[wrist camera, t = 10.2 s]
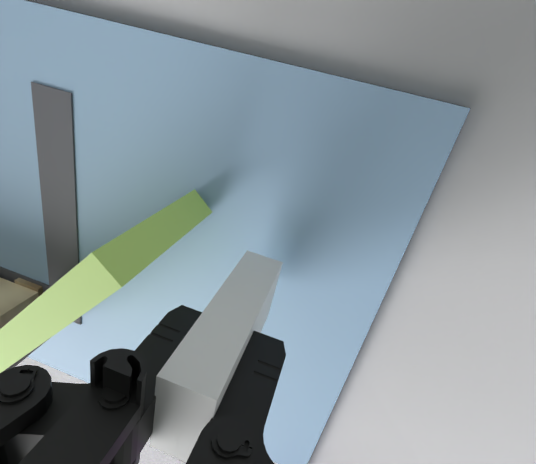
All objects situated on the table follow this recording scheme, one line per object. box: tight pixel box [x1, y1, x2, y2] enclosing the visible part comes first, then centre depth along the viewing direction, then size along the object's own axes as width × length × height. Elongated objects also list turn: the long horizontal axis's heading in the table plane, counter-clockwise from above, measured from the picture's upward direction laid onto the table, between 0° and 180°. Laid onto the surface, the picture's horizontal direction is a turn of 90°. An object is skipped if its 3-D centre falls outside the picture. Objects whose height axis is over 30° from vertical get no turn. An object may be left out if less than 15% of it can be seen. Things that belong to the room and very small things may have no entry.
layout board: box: [0, 0, 470, 464], centre depth 18 cm, size 28×21×1 cm
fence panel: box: [0, 189, 212, 373], centre depth 14 cm, size 10×1×6 cm, turn 128°
